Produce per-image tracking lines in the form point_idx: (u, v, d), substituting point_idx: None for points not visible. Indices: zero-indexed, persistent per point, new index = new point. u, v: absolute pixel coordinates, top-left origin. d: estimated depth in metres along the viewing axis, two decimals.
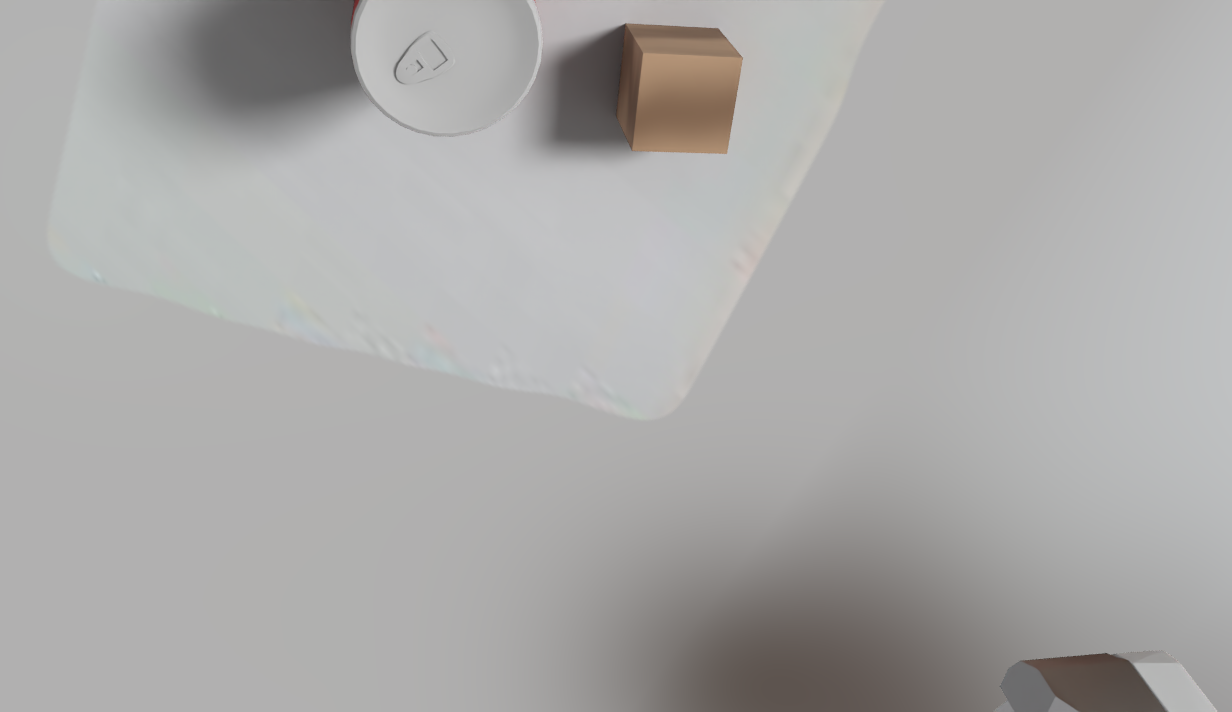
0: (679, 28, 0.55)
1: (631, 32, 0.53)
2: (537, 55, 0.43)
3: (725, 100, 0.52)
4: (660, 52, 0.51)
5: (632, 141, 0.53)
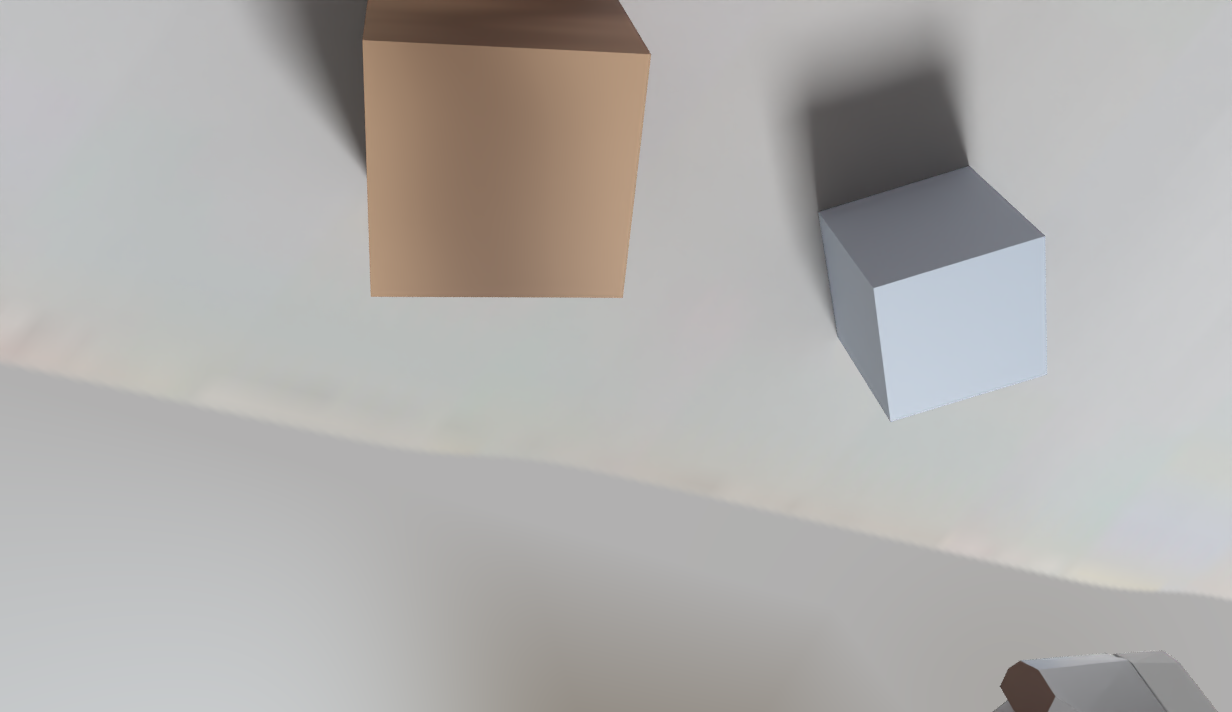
0: None
1: (619, 4, 0.21)
2: None
3: (516, 273, 0.21)
4: (642, 99, 0.19)
5: (388, 38, 0.18)
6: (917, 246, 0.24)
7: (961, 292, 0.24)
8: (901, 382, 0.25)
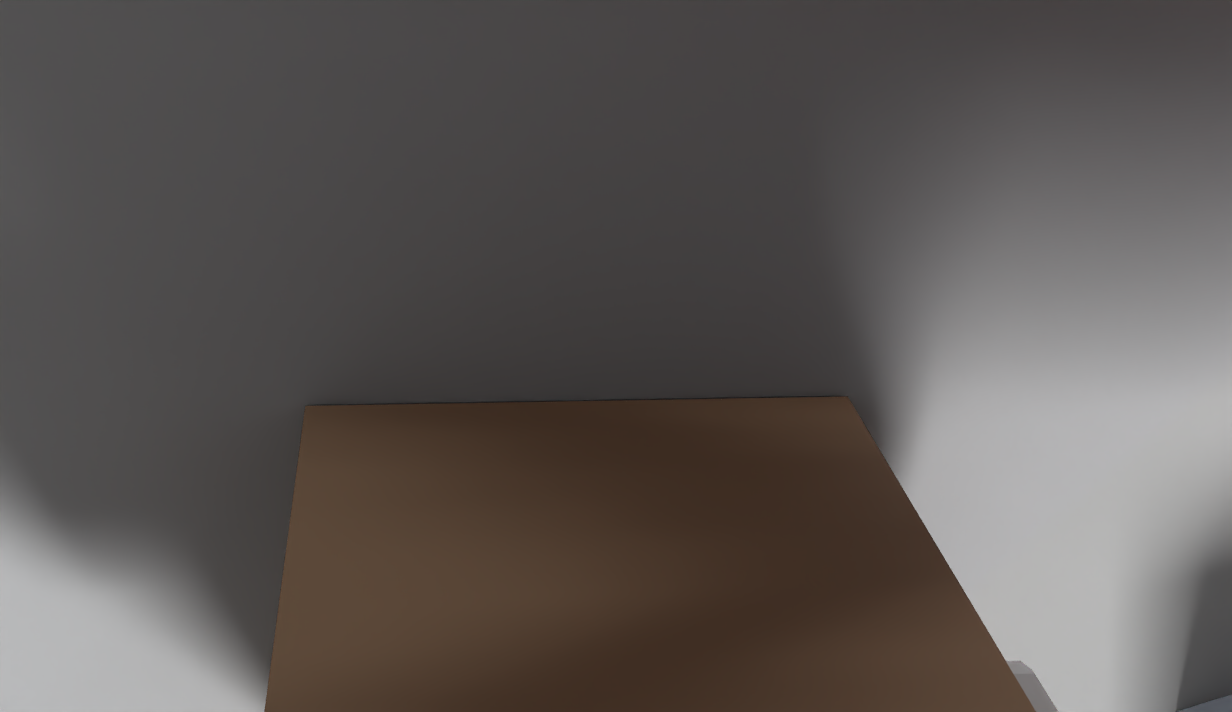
0: None
1: (912, 513, 0.09)
2: None
3: None
4: None
5: None
6: None
7: None
8: None
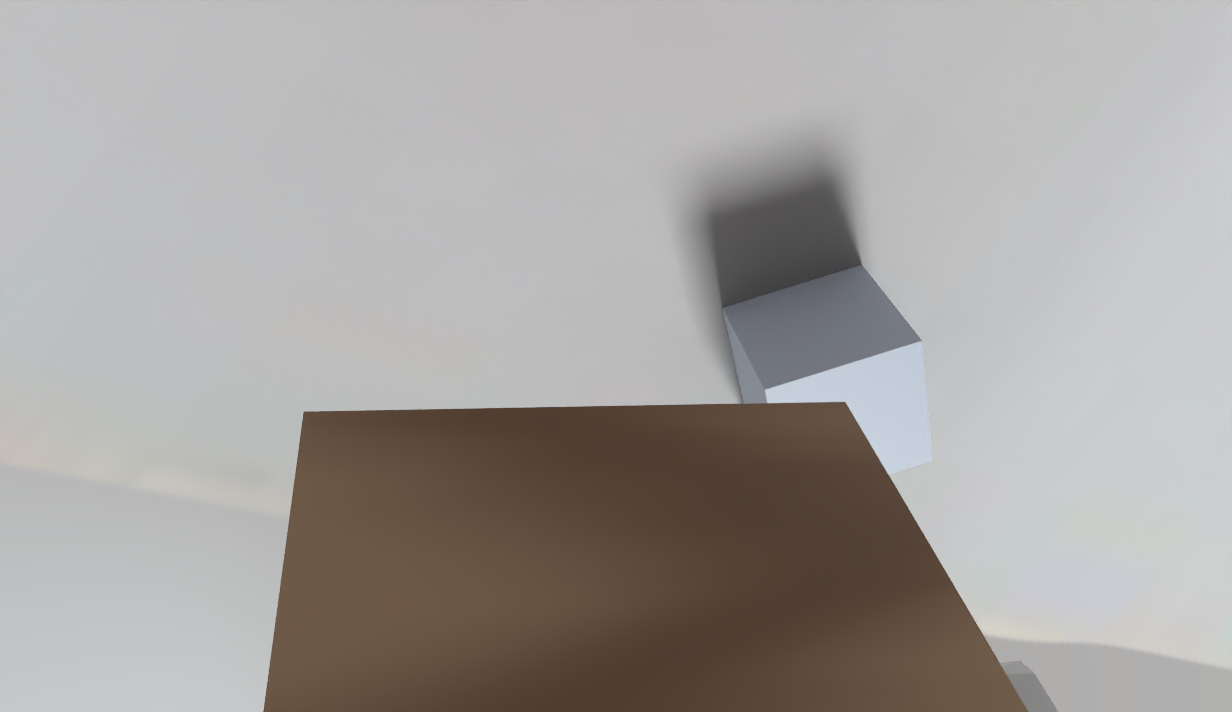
0: None
1: (910, 518, 0.09)
2: None
3: None
4: None
5: None
6: (808, 347, 0.26)
7: (847, 392, 0.26)
8: None
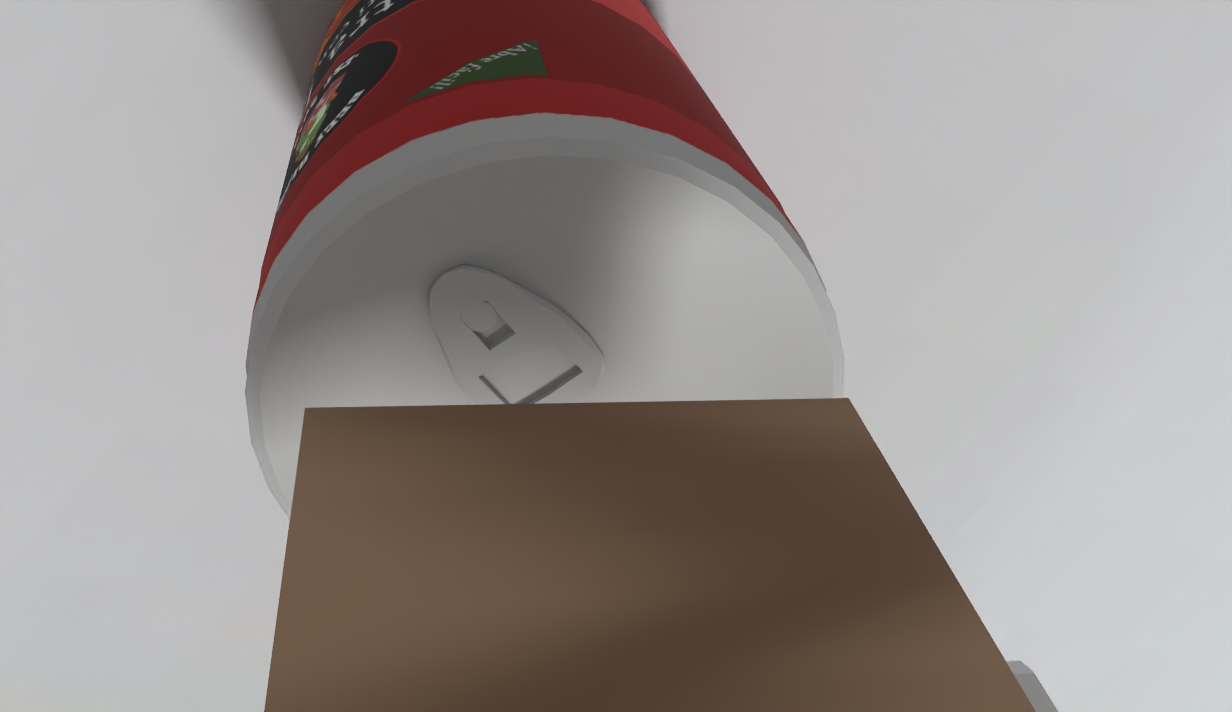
0: None
1: (913, 515, 0.09)
2: None
3: None
4: None
5: None
6: None
7: None
8: None
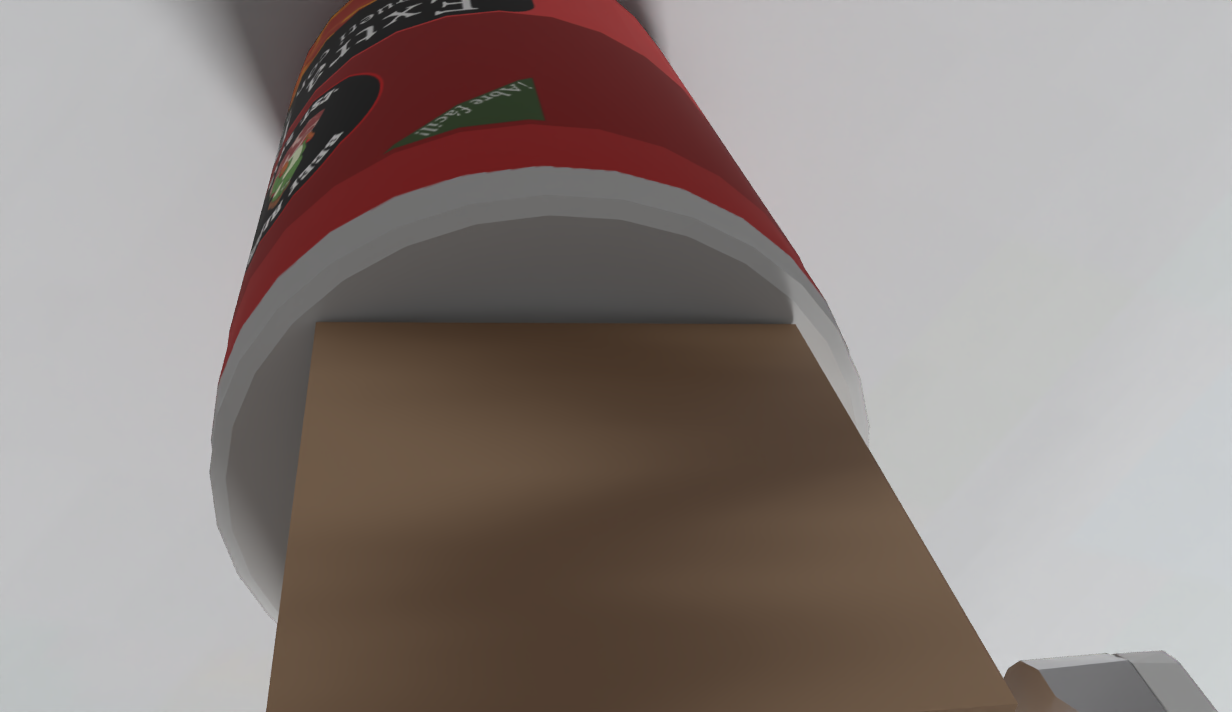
0: None
1: (845, 416, 0.10)
2: None
3: None
4: None
5: None
6: None
7: None
8: None
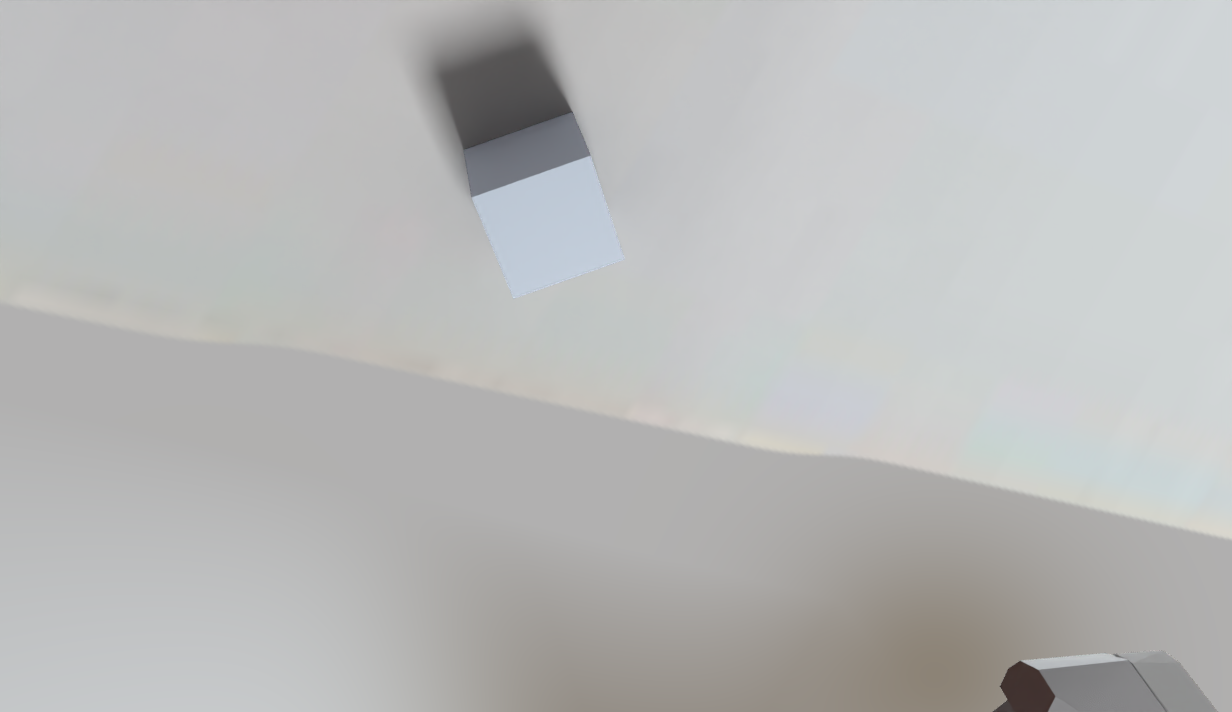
0: None
1: None
2: None
3: None
4: None
5: None
6: (512, 168, 0.34)
7: (539, 199, 0.34)
8: (513, 268, 0.35)
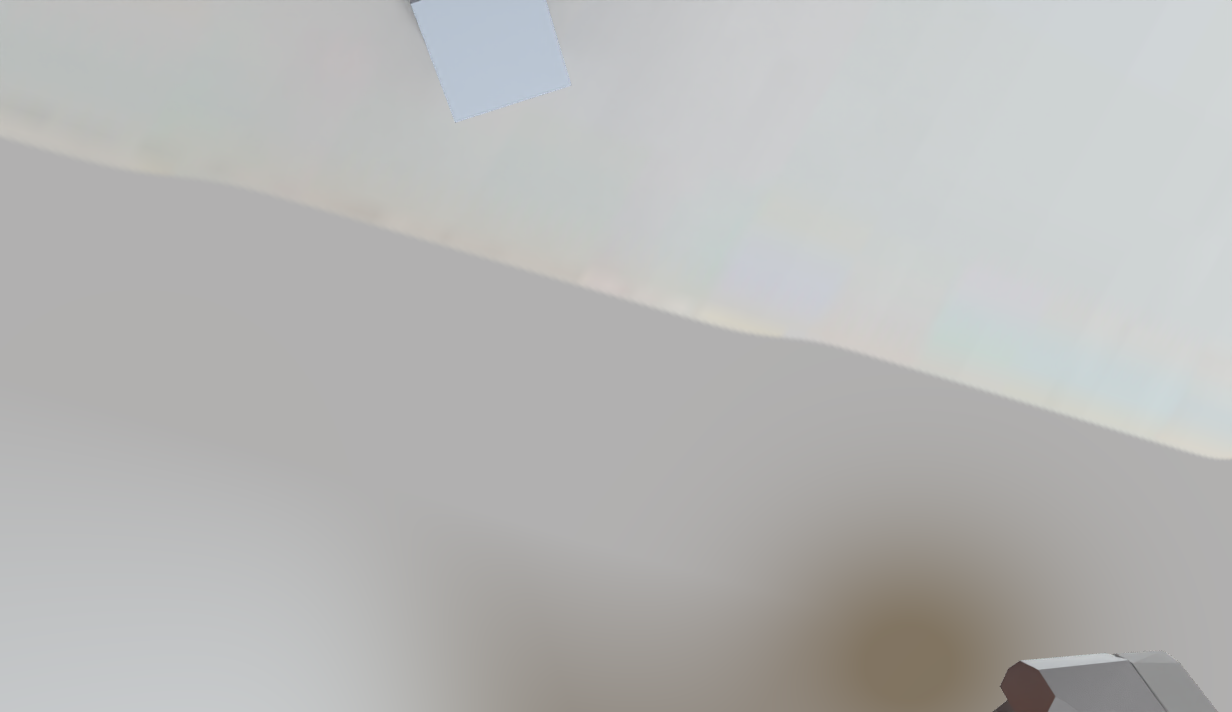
0: None
1: None
2: None
3: None
4: None
5: None
6: None
7: (481, 10, 0.33)
8: (454, 87, 0.34)
